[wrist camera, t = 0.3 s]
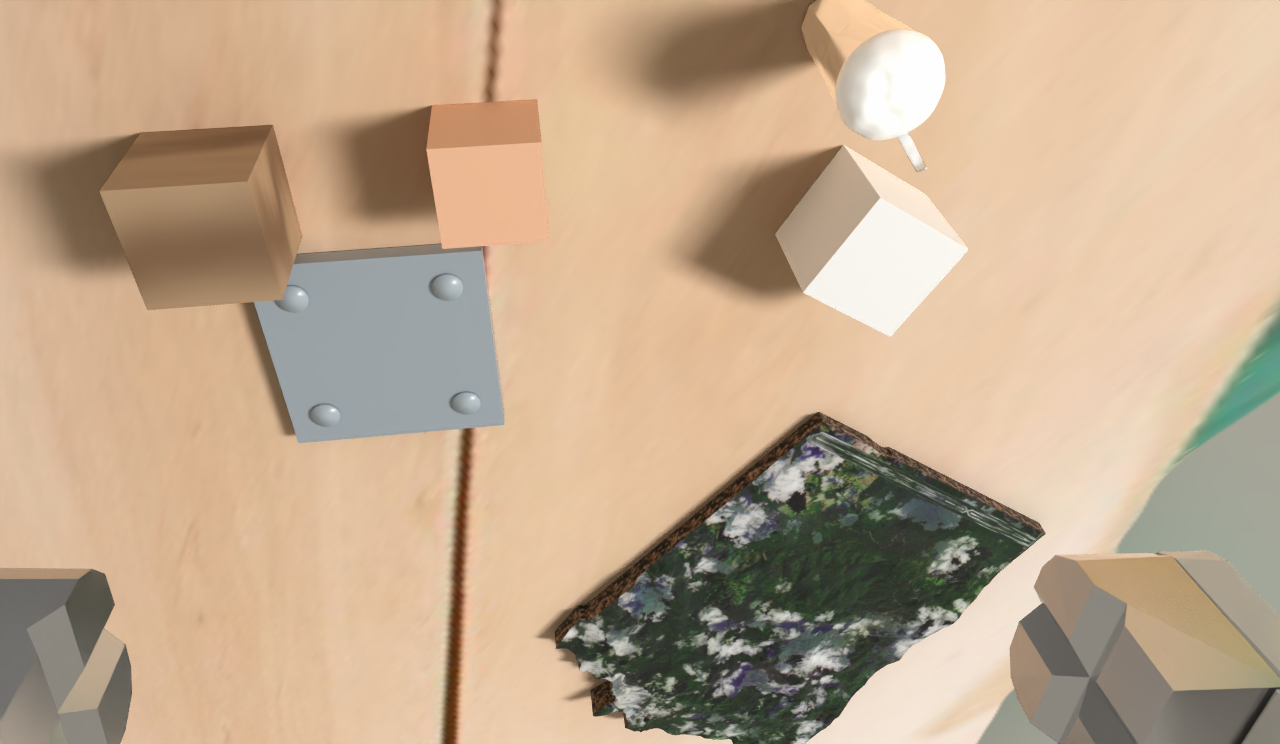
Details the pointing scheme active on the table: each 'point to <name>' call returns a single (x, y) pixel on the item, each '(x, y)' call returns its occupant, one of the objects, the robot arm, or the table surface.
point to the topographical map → (791, 590)
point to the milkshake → (875, 70)
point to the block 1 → (205, 216)
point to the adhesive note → (868, 242)
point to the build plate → (385, 342)
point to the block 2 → (487, 173)
